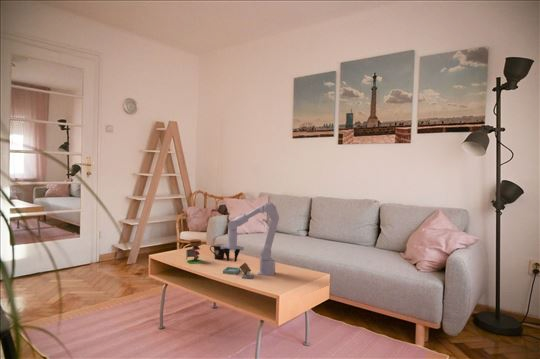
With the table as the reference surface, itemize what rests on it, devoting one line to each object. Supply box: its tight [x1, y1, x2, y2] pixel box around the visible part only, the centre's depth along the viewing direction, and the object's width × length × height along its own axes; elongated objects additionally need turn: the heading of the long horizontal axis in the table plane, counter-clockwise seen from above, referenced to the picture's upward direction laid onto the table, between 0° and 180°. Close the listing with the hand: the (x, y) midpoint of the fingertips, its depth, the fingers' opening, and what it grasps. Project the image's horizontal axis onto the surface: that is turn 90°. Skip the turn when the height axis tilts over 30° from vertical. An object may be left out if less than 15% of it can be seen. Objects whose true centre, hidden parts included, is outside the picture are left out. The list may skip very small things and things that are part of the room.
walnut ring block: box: [239, 262, 252, 275], centre depth 215 cm, size 4×4×5 cm
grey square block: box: [241, 271, 255, 280], centre depth 214 cm, size 6×6×4 cm
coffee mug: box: [209, 243, 226, 261], centre depth 258 cm, size 12×9×10 cm
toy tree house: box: [185, 239, 204, 265], centre depth 247 cm, size 12×13×15 cm
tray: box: [222, 266, 241, 275], centre depth 225 cm, size 9×9×2 cm
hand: (231, 261), depth 224 cm, fingers open, 4 cm apart
